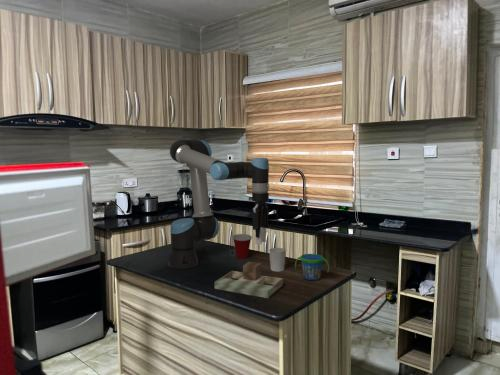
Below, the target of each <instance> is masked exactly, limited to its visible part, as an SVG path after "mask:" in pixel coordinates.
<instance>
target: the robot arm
mask: <svg viewBox="0 0 500 375" xmlns="http://www.w3.org/2000/svg"><path fill="white" fill-rule="evenodd" d="M169 156H170V157H171V159H172V160H173V161H175V162H176V163H178V164H182V165H185V164H186V167H187V168H189V176H190V184H191V193H192V203H193V212H194V213H193V214H192V215H191V217H186V218H184V217H183V218H178V219H176V220H174V221H173V222H172V223H171V225H170V237H171V238H170V241H171V243H170V244H171V251H170V255H169V259H168V261H167V262H168V267H169V268H171V269H174V270H185V269H192V268H196V267H197V266H198V265H199V258H198V256H197V253H196V249H195V243H199V242H203V241H209V240H212V239H214V238H216V237H217V235H218V234H219V230H220V223H219V221H218V219H217V218H216V217H215V216H214V213H212V211H211V207H210V206H211V205H210V197H209V187H208V186H209V185H208V178H207V176H208V174H209V175H210V177H211V178H212V179H213V180H214V181H225V180H234V179H236V180H237V179H251V191H252V194H251V200H252V201H253V202H254V207H251V211H252V212H251V213H252V230H254V234H255V236H254V237H255V241H254V242H255V245H262V243H266V241H267V239H266V237H267V235H266V233H267V229H268V228H269V204H268V203H267V202H268V201H269V199H270V198H269V197H270V195H269V189H270V184H269V183H270V182H269V180H270V179H269V177H270V176H269V174H270V173H269V172H270V170H269V168H270V167H269V165H270V164H269V159H268V158H266V157H254V158H251V161H232V162H225V161H222V160H220V159H217V158H215V157H212V148H211V145H210V143H208V142H207V141H206V140H203V139H178V140H176V141H174V142H173V143H172V144H171V145H170V147H169Z"/></svg>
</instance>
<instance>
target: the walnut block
mask: <svg viewBox="0 0 500 375" xmlns="http://www.w3.org/2000/svg"><path fill="white" fill-rule="evenodd" d="M242 272H243V279H247V280H254V281H256V280H257V279H259V278H260V277H261V275H262V263H261V262H255V261H253V262H252V261H247V262H246V263H244V264H242Z"/></svg>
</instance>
